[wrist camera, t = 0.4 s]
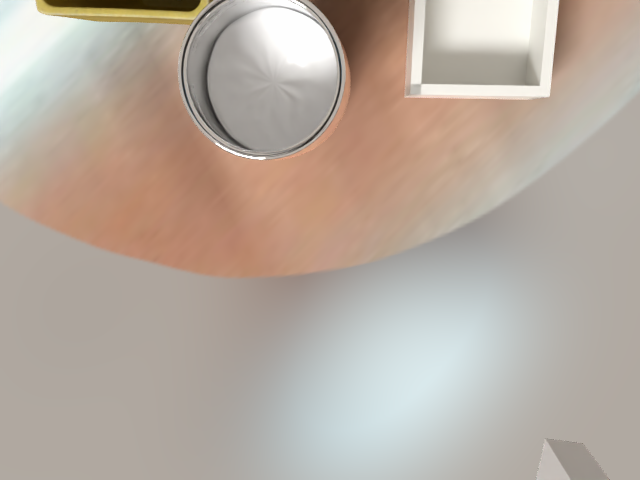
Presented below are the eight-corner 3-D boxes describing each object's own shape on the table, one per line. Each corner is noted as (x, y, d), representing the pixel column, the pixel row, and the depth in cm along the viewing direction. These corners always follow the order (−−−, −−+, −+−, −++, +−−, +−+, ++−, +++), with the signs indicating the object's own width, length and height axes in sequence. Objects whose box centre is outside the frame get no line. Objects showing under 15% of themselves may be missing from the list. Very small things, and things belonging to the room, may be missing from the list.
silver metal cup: (336, 27, 35) (328, -44, 21) (360, 135, 36) (368, 143, 22) (231, 54, 36) (150, 4, 21) (258, 160, 37) (199, 182, 22)
